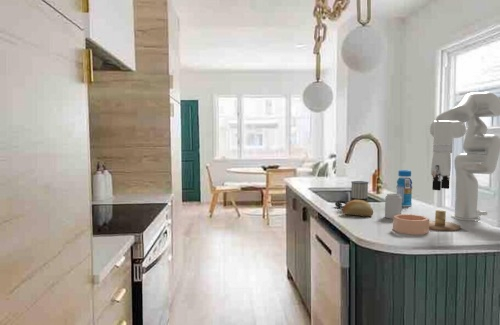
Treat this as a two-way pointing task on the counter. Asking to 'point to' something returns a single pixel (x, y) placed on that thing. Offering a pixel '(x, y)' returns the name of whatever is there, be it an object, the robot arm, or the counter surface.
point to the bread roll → (358, 208)
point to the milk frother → (356, 192)
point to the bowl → (410, 224)
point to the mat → (449, 231)
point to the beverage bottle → (405, 187)
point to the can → (393, 205)
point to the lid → (442, 223)
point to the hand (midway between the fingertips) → (440, 189)
